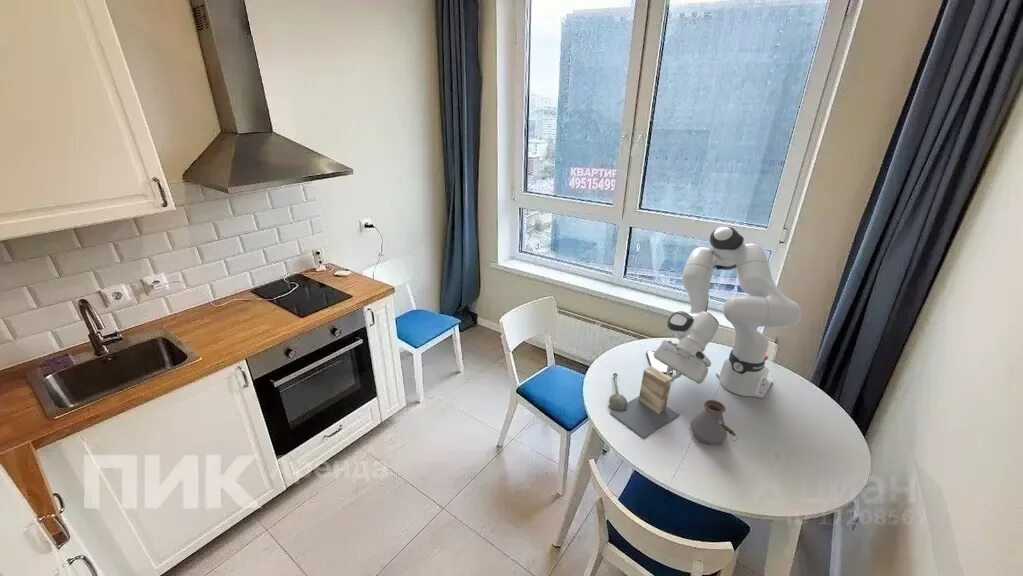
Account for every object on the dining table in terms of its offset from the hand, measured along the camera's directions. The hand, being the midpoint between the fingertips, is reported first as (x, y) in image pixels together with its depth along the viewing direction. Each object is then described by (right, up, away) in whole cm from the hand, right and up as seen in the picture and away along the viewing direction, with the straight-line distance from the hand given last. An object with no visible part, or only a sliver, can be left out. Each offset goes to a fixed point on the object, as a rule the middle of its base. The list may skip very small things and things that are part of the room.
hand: (668, 380), depth 155 cm
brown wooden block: (-7, -9, -2) cm, 11 cm away
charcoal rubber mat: (-11, -11, -6) cm, 17 cm away
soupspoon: (-18, -6, +5) cm, 20 cm away
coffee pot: (+7, -18, -19) cm, 27 cm away
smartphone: (+5, +1, +24) cm, 25 cm away
